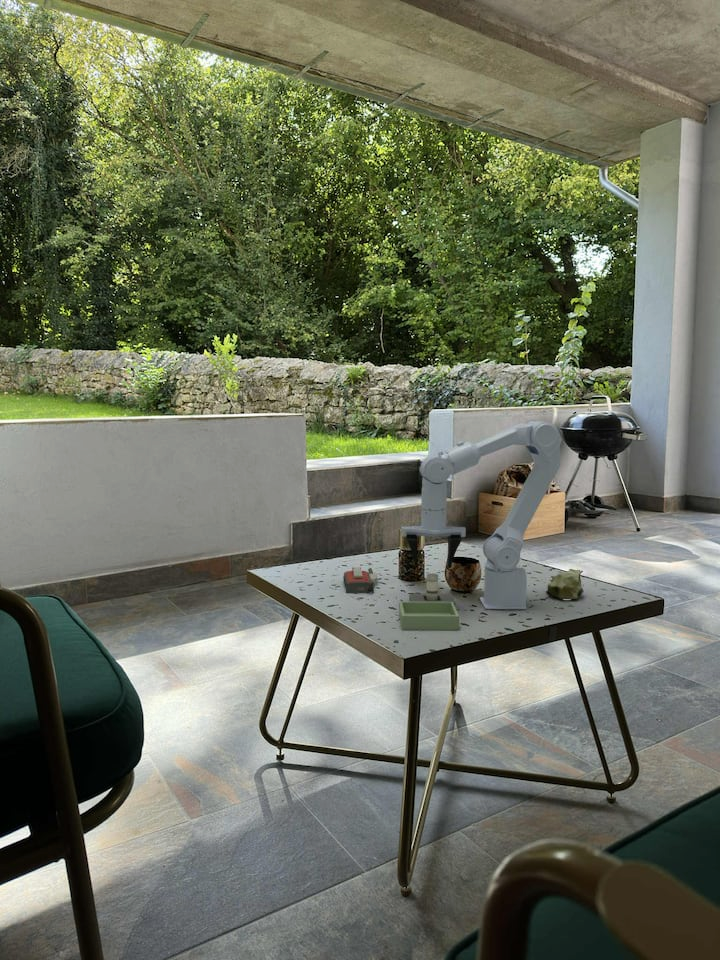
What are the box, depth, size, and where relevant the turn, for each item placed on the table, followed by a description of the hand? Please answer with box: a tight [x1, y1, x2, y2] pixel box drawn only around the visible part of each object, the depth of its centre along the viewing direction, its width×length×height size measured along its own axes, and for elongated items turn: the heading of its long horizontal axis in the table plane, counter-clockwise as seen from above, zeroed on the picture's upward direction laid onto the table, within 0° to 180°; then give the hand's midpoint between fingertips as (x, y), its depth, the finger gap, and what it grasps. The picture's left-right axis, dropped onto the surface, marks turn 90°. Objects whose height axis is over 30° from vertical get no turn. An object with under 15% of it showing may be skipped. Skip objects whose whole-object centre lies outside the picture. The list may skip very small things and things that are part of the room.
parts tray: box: [398, 601, 460, 631], centre depth 156 cm, size 12×10×3 cm
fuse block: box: [408, 593, 457, 609], centre depth 167 cm, size 10×7×2 cm
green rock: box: [545, 568, 584, 600], centre depth 175 cm, size 9×9×8 cm
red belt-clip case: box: [342, 566, 379, 594], centre depth 186 cm, size 9×4×20 cm
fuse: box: [425, 573, 439, 601], centre depth 167 cm, size 3×3×8 cm
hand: (432, 566), depth 166 cm, fingers open, 7 cm apart
